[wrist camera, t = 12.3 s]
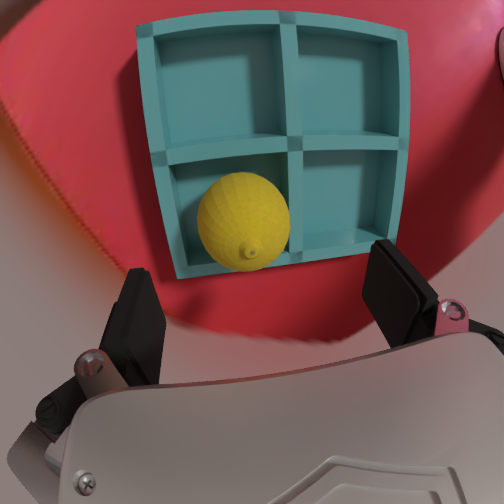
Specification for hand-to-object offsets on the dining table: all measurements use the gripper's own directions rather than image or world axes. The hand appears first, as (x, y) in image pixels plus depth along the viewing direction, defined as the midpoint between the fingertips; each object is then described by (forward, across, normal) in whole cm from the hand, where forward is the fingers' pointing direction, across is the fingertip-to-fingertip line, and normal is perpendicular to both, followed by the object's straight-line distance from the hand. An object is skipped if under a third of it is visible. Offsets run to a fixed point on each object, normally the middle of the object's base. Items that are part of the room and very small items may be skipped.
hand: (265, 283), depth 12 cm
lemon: (+11, 0, 0) cm, 11 cm away
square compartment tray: (+12, -3, -4) cm, 13 cm away
